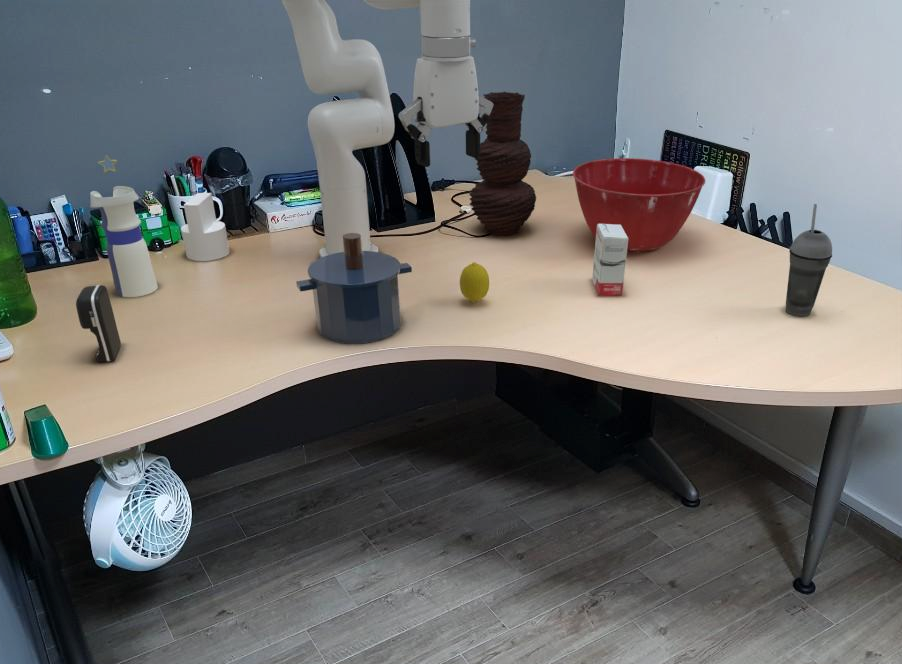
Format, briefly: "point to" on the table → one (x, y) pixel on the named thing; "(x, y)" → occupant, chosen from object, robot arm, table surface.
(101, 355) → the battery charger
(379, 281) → the pot lid
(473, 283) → the lemon
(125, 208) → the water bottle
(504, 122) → the vase
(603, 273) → the ink box
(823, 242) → the beverage cup
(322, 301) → the pot
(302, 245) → the table surface
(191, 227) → the cylinder with rectangular tab
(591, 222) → the mixing bowl
